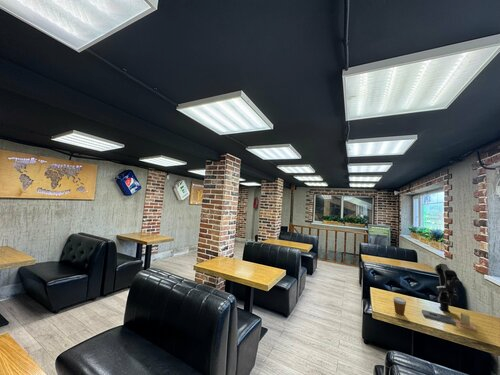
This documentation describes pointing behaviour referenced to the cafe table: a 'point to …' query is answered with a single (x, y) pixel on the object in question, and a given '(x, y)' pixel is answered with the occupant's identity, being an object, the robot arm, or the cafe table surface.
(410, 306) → the cafe table surface
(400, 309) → the disposable coffee cup
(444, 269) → the robot arm
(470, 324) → the mat
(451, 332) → the cafe table surface
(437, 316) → the rail plate
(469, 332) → the cafe table surface
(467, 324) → the brass block
